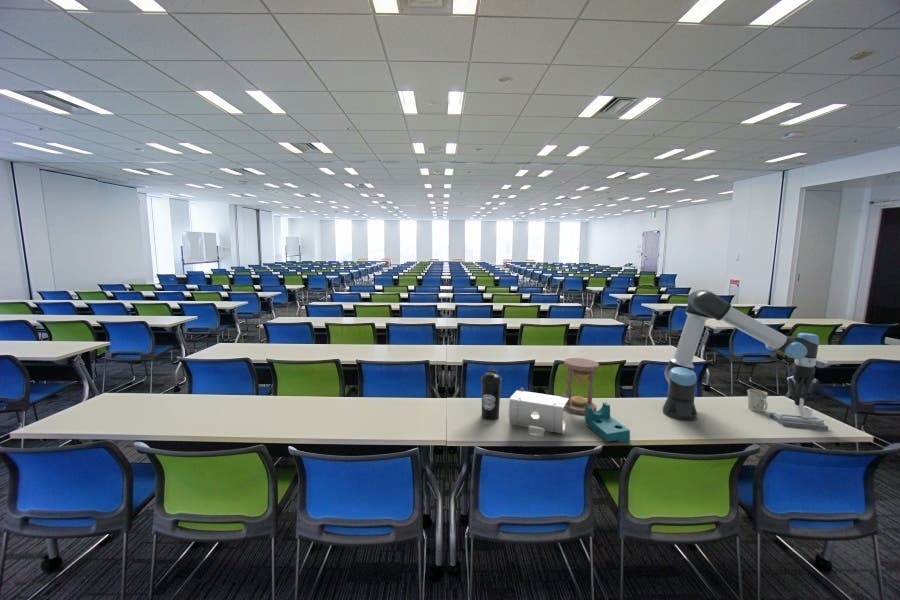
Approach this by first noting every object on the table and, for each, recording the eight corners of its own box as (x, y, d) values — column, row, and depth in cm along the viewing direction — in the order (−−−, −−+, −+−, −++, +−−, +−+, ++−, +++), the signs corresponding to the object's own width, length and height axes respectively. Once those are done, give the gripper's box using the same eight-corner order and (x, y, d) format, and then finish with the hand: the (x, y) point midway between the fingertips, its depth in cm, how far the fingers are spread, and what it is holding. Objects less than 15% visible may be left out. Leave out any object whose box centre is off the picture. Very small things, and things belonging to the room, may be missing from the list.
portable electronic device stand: (505, 431, 170) (507, 399, 169) (516, 412, 192) (517, 383, 190) (564, 442, 161) (566, 408, 159) (568, 420, 183) (569, 390, 181)
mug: (758, 407, 205) (760, 389, 204) (775, 416, 192) (777, 398, 191) (741, 406, 206) (743, 388, 204) (758, 415, 193) (760, 397, 192)
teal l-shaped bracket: (585, 426, 179) (584, 405, 177) (606, 422, 181) (605, 402, 179) (607, 444, 161) (607, 422, 160) (629, 441, 163) (629, 418, 162)
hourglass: (587, 401, 208) (590, 357, 206) (602, 414, 191) (605, 367, 188) (556, 401, 207) (559, 357, 205) (568, 414, 190) (571, 367, 187)
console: (782, 425, 182) (783, 417, 181) (769, 416, 192) (770, 409, 192) (827, 430, 177) (828, 422, 177) (811, 420, 188) (812, 413, 187)
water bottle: (477, 419, 183) (478, 373, 180) (483, 411, 192) (484, 368, 190) (497, 422, 179) (499, 376, 177) (502, 414, 189) (504, 370, 186)
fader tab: (802, 420, 182) (804, 408, 181) (796, 416, 187) (798, 404, 186) (810, 421, 181) (812, 409, 180) (804, 417, 186) (805, 405, 185)
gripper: (793, 366, 179) (787, 413, 182) (826, 368, 176) (820, 416, 179) (784, 361, 187) (778, 407, 189) (815, 364, 183) (809, 410, 186)
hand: (798, 411), depth 184 cm, fingers closed
